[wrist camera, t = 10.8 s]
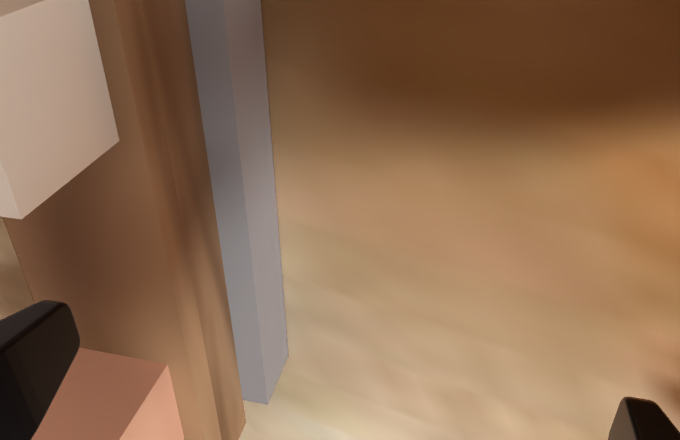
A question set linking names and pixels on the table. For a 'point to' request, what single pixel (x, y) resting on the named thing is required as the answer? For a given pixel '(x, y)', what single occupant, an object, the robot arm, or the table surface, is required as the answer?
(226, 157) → the block
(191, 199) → the tan long bar
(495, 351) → the table surface
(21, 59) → the block
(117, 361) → the block
